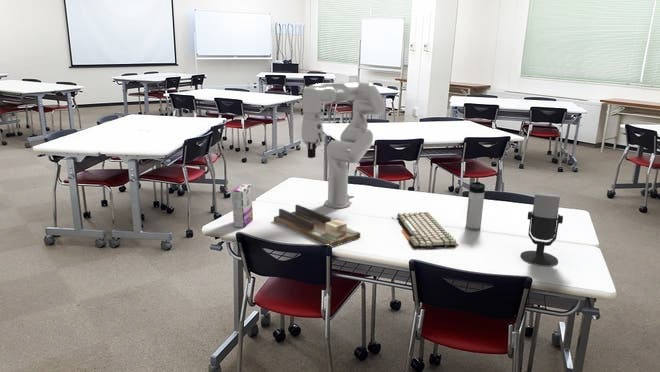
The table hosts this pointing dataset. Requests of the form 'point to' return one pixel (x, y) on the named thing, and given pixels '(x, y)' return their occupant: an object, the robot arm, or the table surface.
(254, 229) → the table surface
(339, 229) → the maple block
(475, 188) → the travel mug
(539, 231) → the microphone
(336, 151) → the robot arm
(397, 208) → the table surface
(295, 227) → the runway board
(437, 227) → the mechanical keyboard
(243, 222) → the candy bar box
